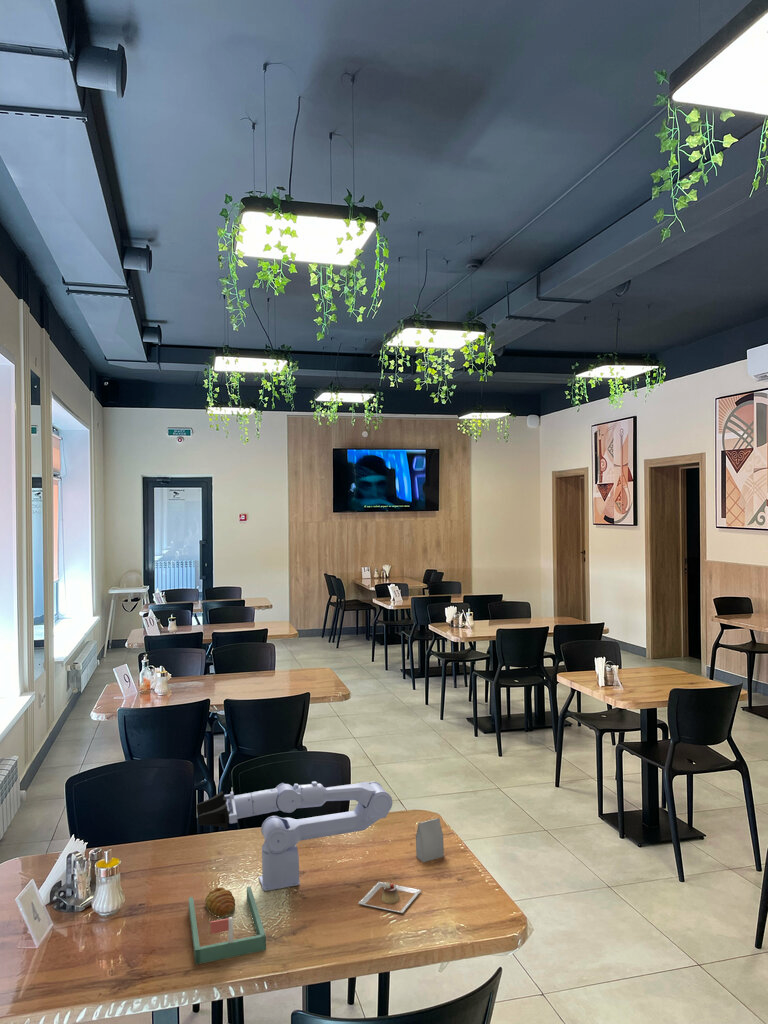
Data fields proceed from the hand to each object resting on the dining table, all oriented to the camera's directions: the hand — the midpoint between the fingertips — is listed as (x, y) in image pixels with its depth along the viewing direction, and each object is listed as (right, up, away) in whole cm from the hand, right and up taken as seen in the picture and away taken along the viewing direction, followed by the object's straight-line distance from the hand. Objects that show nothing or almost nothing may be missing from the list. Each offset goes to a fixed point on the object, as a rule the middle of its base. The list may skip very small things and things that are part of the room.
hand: (197, 814), depth 182 cm
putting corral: (+11, -19, -17) cm, 28 cm away
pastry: (+8, -20, -7) cm, 23 cm away
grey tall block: (+60, -20, +18) cm, 66 cm away
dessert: (+49, -20, -5) cm, 53 cm away
